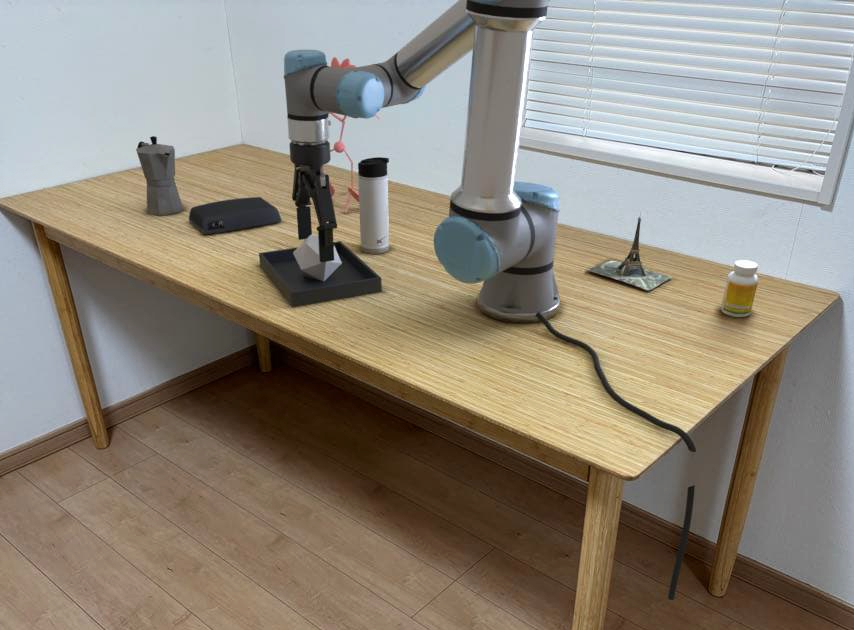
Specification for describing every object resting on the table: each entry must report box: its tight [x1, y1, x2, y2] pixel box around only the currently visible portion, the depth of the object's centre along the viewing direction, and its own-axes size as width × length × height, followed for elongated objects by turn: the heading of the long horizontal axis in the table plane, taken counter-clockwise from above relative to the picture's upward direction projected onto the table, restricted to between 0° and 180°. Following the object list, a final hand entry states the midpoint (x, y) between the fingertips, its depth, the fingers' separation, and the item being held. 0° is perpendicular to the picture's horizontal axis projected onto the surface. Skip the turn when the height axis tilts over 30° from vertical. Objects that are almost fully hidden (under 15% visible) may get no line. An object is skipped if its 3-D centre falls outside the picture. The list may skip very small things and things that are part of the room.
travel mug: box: [357, 156, 390, 255], centre depth 173 cm, size 6×7×20 cm
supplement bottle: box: [720, 259, 759, 318], centre depth 148 cm, size 5×5×10 cm
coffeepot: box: [135, 135, 184, 216], centre depth 197 cm, size 15×9×18 cm, turn 44°
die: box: [293, 233, 342, 282], centre depth 161 cm, size 8×9×10 cm
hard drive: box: [188, 196, 283, 235], centre depth 192 cm, size 13×19×4 cm
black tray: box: [258, 240, 383, 308], centre depth 162 cm, size 23×18×3 cm
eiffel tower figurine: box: [587, 211, 674, 292], centre depth 162 cm, size 15×10×13 cm
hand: (315, 249), depth 160 cm, fingers open, 13 cm apart
